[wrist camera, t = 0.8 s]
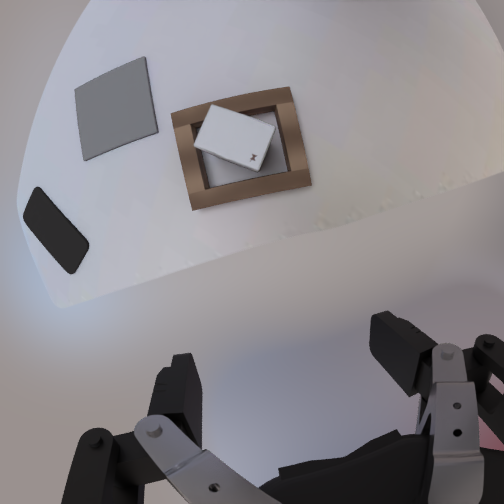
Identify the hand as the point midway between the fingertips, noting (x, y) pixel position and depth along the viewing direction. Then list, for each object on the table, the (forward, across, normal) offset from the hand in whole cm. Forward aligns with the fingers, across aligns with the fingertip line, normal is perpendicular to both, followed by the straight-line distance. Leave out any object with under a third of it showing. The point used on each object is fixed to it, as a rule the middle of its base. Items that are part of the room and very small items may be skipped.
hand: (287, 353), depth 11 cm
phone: (+30, +29, -6) cm, 43 cm away
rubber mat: (+27, +15, -21) cm, 38 cm away
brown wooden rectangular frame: (+25, -2, -11) cm, 28 cm away
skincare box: (+25, -2, -11) cm, 28 cm away
